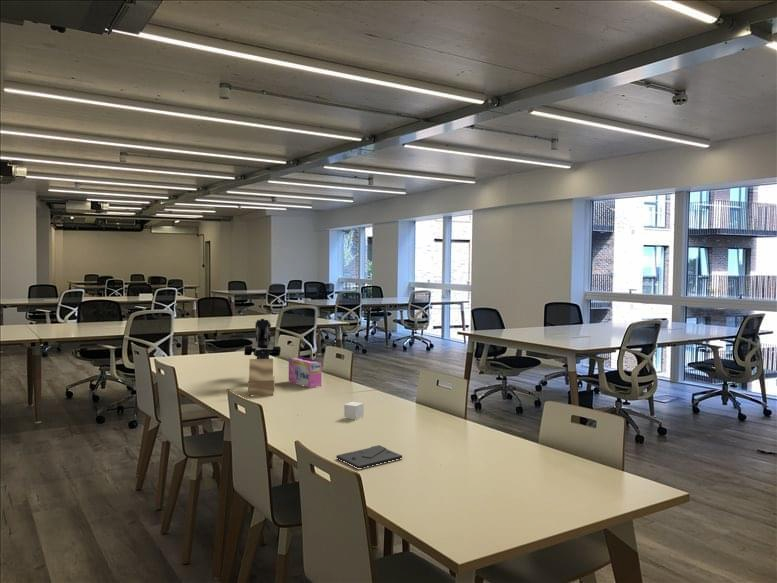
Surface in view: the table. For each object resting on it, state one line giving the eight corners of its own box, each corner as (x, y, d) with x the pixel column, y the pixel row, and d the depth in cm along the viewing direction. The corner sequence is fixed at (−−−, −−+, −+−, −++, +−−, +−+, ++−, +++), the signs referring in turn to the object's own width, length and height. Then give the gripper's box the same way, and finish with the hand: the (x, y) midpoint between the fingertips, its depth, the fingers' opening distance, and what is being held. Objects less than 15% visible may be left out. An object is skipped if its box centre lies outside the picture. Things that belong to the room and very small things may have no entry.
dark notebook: (378, 451, 210) (336, 460, 200) (378, 444, 210) (336, 454, 200) (402, 461, 200) (358, 472, 189) (402, 454, 200) (358, 465, 189)
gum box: (286, 381, 333) (286, 357, 332) (298, 379, 338) (298, 356, 338) (309, 388, 315) (309, 362, 314) (322, 386, 320) (322, 361, 319)
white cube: (356, 420, 250) (356, 406, 250) (344, 418, 253) (344, 404, 253) (363, 416, 256) (363, 403, 255) (351, 415, 259) (351, 401, 258)
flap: (249, 359, 300) (249, 359, 299) (272, 358, 302) (272, 358, 301) (249, 381, 294) (249, 380, 294) (272, 380, 296) (272, 380, 296)
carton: (249, 391, 307) (249, 376, 306) (274, 390, 309) (274, 375, 309) (247, 396, 295) (247, 381, 294) (274, 395, 297) (274, 380, 297)
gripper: (278, 348, 330) (278, 372, 320) (244, 347, 325) (243, 371, 315) (280, 336, 321) (280, 361, 312) (245, 335, 317) (244, 360, 307)
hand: (262, 364), depth 312 cm, fingers closed
